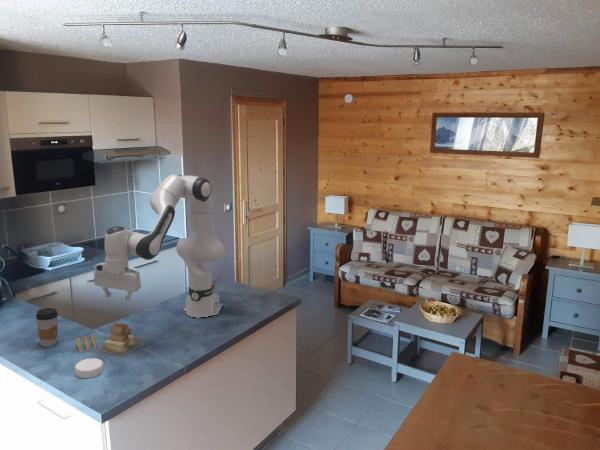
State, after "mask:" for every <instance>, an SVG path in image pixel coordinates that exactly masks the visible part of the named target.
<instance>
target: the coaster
mask: <svg viewBox="0 0 600 450" xmlns="http://www.w3.org/2000/svg"><path fill="white" fill-rule="evenodd" d="M103 370H104V361H103V360H101V359H99V358H94V357H93V358H86V359H85V358H84V359H82V360H80V361H78V362H77V363H76V364H75V366H74V374H75V375H76V377H77V378H80V379H91V378H95V377H98V376H99V375H100V374H102V371H103Z"/></svg>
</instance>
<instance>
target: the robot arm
mask: <svg viewBox="0 0 600 450" xmlns="http://www.w3.org/2000/svg"><path fill="white" fill-rule="evenodd" d="M212 188H213V187H212V183H211V181H210V180H209V179H207V178H205V177H201V176H196V175H182V174H174V173H173V174H172V173H171V174H169V175H167V176H166V177H165V178H164V179H163V180H162V181H161V183H159V184H158V185H157V187H156V188H155V190H153V193H152V194H151V196H150V198H149V205H150V207H151V210H152V211H154V213H155V214H157V215H158V217H157V220H156V222H155V224H154V226H153V227H152V230H151V232H149V233H147V234H145V233H140V232H137V231H132V230H129V229H127V228H126V227H125V226H121V225H119V226H112V227H110V228H108V229H107V230H106V231H105V234H104V252H105V258H104V261H103V262H99V263H97V264H95V265H94V270H95V271H94V272H93V273H94V274H93V283H94V285H95V286H96V287H100V288H101V287H102V290H103V292H104V294H105V295H104V296H105V297H106V298H110V297H112V292H111V291H110V290H109V289H113V290H121V291H126V293H127V295H126V296H124V298H125V299H124V301H127V302H128V301H129V302H130V301H131V300H132V299H131V298H132V297H131V296H132V295H133V293H137V292H138V291H140V290H141V288H142V283H141V277H140V276H141V275H140V272H139V271H138V270H137V269H136V268H129V256H130V255H132V256H135V257H138V258H140V259H144V260H146V261H151V260H153V259H155V257H157V256H158V255H159V253H160V251H161V248H162V244H163V243H164V239H165V237H166V236H167V234H168V232H169V229H170V227H171V225H172V223H173V221H174V219H175V214H176V211H175V208H176V207H177V204H178V203H179V201H180V200H181V198H182V199H184V200H185V199H186V200H189V201H190V202H189V203H190V204H189V226H190V229H191V230H192V231H194V233H196V235H197V237H189V236H188V237H181V238H180V239H179V240H178V242H177V244H176V247H175V248H176V249H175V250H176V253H177V255H178V256H179V257H180V258H181V259H182V260H183V261H184V262H183V263H185V265H186V268H187V271H188V279H189V280H188V281H189V282H188V283H189V286H188V290H187V292H188V293H187V294H188V295H186V299H185V307H184V308H183V312H184V311H186V312H185V314H187V315H188V316H187V315H186V316H187V317H189V316H191V317H190V318H192V317H196V318H195V319H200V318H199V317H207V318H209V317H208V316H211V315H217V314H218V313H219V311H220V308H219V309H218V306H219V302H220V296H219V295H218V294H216V293H215V292H214V289H216V284H212V283H213V274H212V273H213V272H212V270H211V269H210V267H208V266H207V265H206V264H205V263H220V262H221V261H222V260H223V259H224V258H225V257H226V247H225V244H224V243H223V242H222V241H220V239H219V238H218V236H217V234H216V232H215V227H214V213H213V212H214V205H213V204H214V203H213V197H212V195H213V194H212V192H213V191H212V190H213V189H212ZM204 262H205V263H204ZM215 312H217V313H215ZM220 312H221V311H220ZM219 314H220V313H219ZM219 314H218V315H219Z"/></svg>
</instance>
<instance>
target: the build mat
mask: <svg viewBox="0 0 600 450" xmlns="http://www.w3.org/2000/svg"><path fill="white" fill-rule="evenodd" d="M148 341H149V339H146V338H141V337H135V345H133V346H132V347H131V348H129V349H128V350H126V351H125V352H123V353H122V354H121V355H120V354H115V353H110V352H105V351H104V345H103V346H102V347H100V348H99V349H97V350H94V353H97V354H102V355H106V356H112V357H115V358H116V357H117V358H122V359H124V358H126V357H127V356H129V355H130V354H131V353H134V351H136V350H137V349H138V348H140V347H141V346H143V345H144V344H146V343H147V342H148Z"/></svg>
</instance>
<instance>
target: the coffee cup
mask: <svg viewBox="0 0 600 450" xmlns="http://www.w3.org/2000/svg"><path fill="white" fill-rule="evenodd" d="M58 316H59V314H58V311H57V309H56V308H53V307H46V308H41V309H39V310H37V311H36V314H35V319H36V324H37V325H36V326H37V331H38V332H37V333H38V338H39V345H40V346H41V347H42V348H52V347H54V346H56V345H57V343H58V326H59V325H58Z"/></svg>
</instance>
